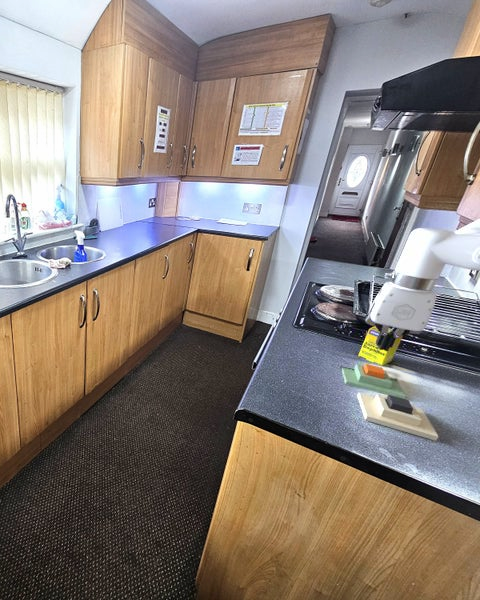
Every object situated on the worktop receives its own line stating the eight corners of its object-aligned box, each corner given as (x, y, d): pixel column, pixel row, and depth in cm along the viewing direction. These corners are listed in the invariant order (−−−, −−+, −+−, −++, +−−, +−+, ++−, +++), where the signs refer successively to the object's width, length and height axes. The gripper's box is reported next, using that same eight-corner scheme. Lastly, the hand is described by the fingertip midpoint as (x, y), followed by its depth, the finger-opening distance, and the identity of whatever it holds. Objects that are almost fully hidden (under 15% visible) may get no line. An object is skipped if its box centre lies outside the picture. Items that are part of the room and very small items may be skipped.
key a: (405, 405, 76) (408, 399, 75) (410, 415, 73) (413, 409, 72) (385, 400, 77) (388, 394, 77) (389, 409, 75) (392, 403, 74)
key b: (379, 373, 88) (382, 367, 87) (383, 379, 85) (385, 374, 84) (363, 369, 90) (365, 363, 89) (365, 375, 87) (368, 370, 86)
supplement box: (356, 360, 99) (368, 328, 94) (366, 354, 101) (379, 323, 97) (379, 370, 94) (394, 337, 89) (390, 364, 96) (404, 332, 92)
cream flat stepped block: (420, 412, 77) (425, 402, 76) (436, 441, 69) (442, 430, 68) (357, 395, 83) (361, 386, 82) (365, 420, 75) (369, 409, 74)
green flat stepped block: (393, 379, 90) (397, 370, 88) (404, 400, 82) (409, 390, 80) (339, 366, 95) (342, 358, 94) (344, 384, 87) (348, 375, 86)
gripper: (376, 279, 78) (348, 346, 85) (463, 293, 71) (425, 364, 78) (369, 271, 84) (344, 334, 91) (449, 283, 77) (415, 350, 84)
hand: (382, 348), depth 84 cm, fingers closed
